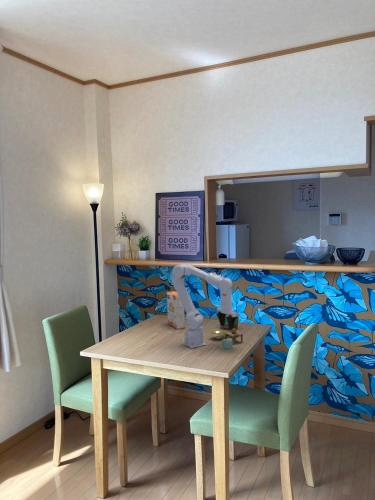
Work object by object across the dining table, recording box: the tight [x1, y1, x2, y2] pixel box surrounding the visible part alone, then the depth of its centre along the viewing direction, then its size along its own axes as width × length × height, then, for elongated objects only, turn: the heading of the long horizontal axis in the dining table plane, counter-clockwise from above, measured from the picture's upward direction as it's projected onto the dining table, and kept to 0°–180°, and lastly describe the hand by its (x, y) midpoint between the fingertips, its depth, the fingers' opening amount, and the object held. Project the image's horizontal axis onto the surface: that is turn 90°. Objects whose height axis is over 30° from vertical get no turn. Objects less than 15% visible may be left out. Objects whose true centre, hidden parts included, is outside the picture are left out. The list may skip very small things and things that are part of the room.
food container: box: [222, 312, 240, 331], centre depth 245 cm, size 12×6×10 cm, turn 62°
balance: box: [209, 328, 240, 341], centre depth 230 cm, size 18×8×5 cm, turn 118°
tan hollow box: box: [225, 328, 244, 346], centre depth 221 cm, size 7×7×7 cm
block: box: [221, 338, 234, 350], centre depth 213 cm, size 4×4×4 cm
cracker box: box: [166, 290, 186, 330], centre depth 255 cm, size 14×6×21 cm, turn 25°
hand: (226, 327), depth 212 cm, fingers open, 7 cm apart
